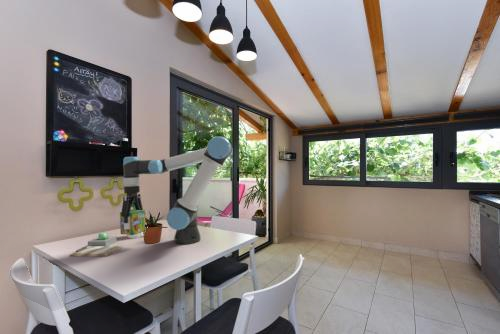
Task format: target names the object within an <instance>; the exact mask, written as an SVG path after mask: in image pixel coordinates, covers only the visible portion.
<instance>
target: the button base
mask: <svg viewBox="0 0 500 334" xmlns="http://www.w3.org/2000/svg"><path fill="white" fill-rule="evenodd" d="M114 242H115V243H116V242H117V236H110V235H109V236H107V239H106V240H98V236H97V237H95V238H93V239H90V240H88V241H87V246H108V245H109V246H111V245H112V243H113V244H114ZM110 244H111V245H110Z"/></svg>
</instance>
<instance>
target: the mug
mask: <svg viewBox="0 0 500 334" xmlns="http://www.w3.org/2000/svg"><path fill="white" fill-rule="evenodd" d="M143 233H144V232H141V233H138V234H134V235H127V234H126V238H127V239H138V238H142V237H143V236H144V234H143Z"/></svg>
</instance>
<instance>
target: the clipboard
mask: <svg viewBox="0 0 500 334" xmlns="http://www.w3.org/2000/svg"><path fill="white" fill-rule="evenodd" d="M121 248H122V246H121V245H120V246H119V245H117V246H116V245H113V246H112V245H109V246H88V245H87V246H84V247H81V248H79V249H76V250H75V251H74V252H72V253H70V254H69V256H70V257H107V256H109V255H111V254H112V253H114V252H116V251H118V250H119V249H120V250H121Z"/></svg>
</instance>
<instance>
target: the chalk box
mask: <svg viewBox="0 0 500 334" xmlns="http://www.w3.org/2000/svg"><path fill="white" fill-rule="evenodd" d="M131 208H132V209H131V210H130V213H129V216H130V229H124V217H122V216H121V212H122V211H121V212H119V223H120V224H119V225H120V234H121V235H126V236H127V235H134V234H138V233H141V232H143V233H145V232H146V227H145V224H146V211H145V210H144V209H143V210H136V209H135V205H132V206H131ZM123 214H124V213H123Z"/></svg>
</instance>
